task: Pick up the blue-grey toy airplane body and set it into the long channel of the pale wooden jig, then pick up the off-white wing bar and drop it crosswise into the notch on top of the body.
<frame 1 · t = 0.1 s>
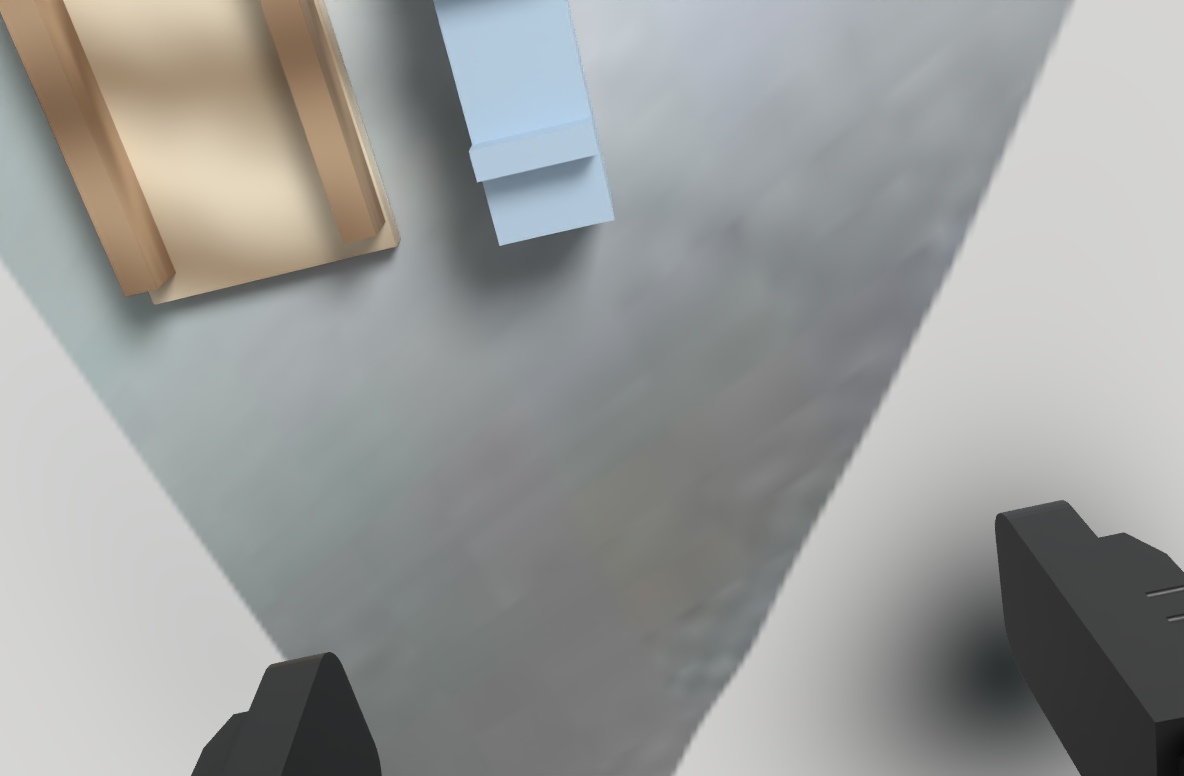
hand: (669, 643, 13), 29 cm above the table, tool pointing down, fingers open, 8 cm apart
jig: (202, 57, 38), on the table
fuselage: (518, 38, 38), on the table
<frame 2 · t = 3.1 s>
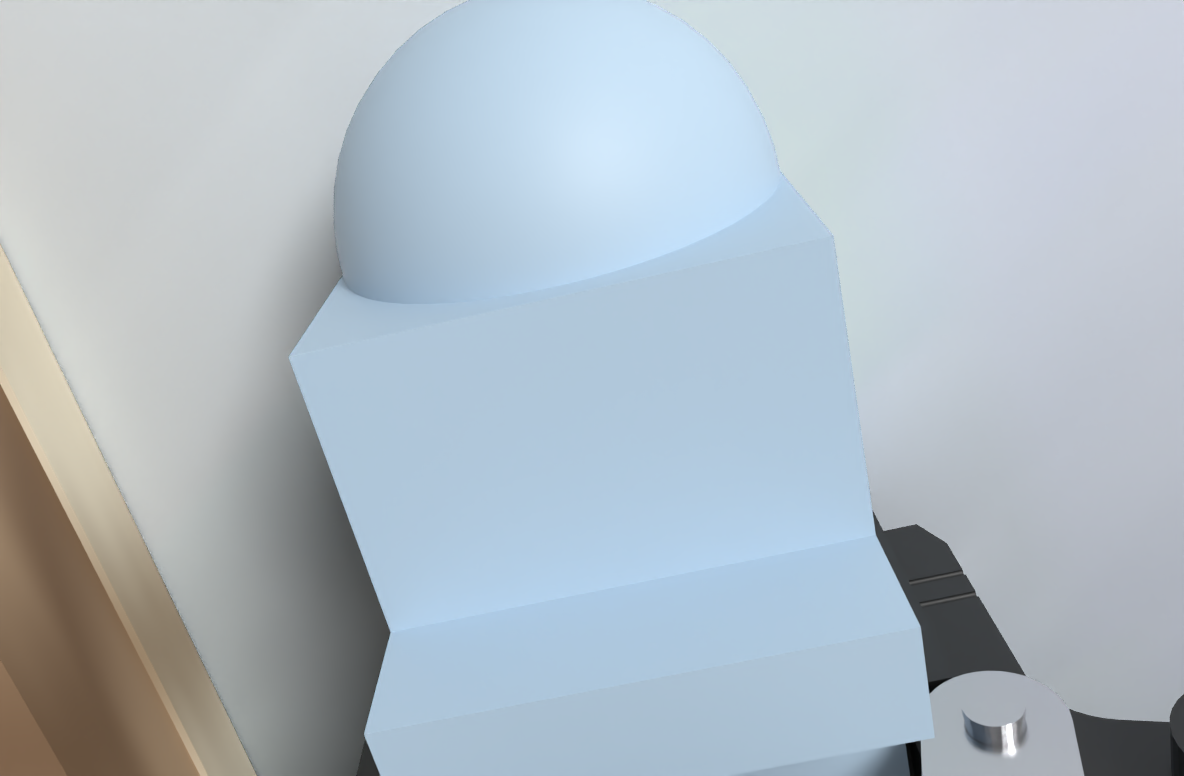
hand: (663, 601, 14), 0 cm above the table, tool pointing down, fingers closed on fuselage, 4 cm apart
fuselage: (669, 607, 14), on the table, touching gripper
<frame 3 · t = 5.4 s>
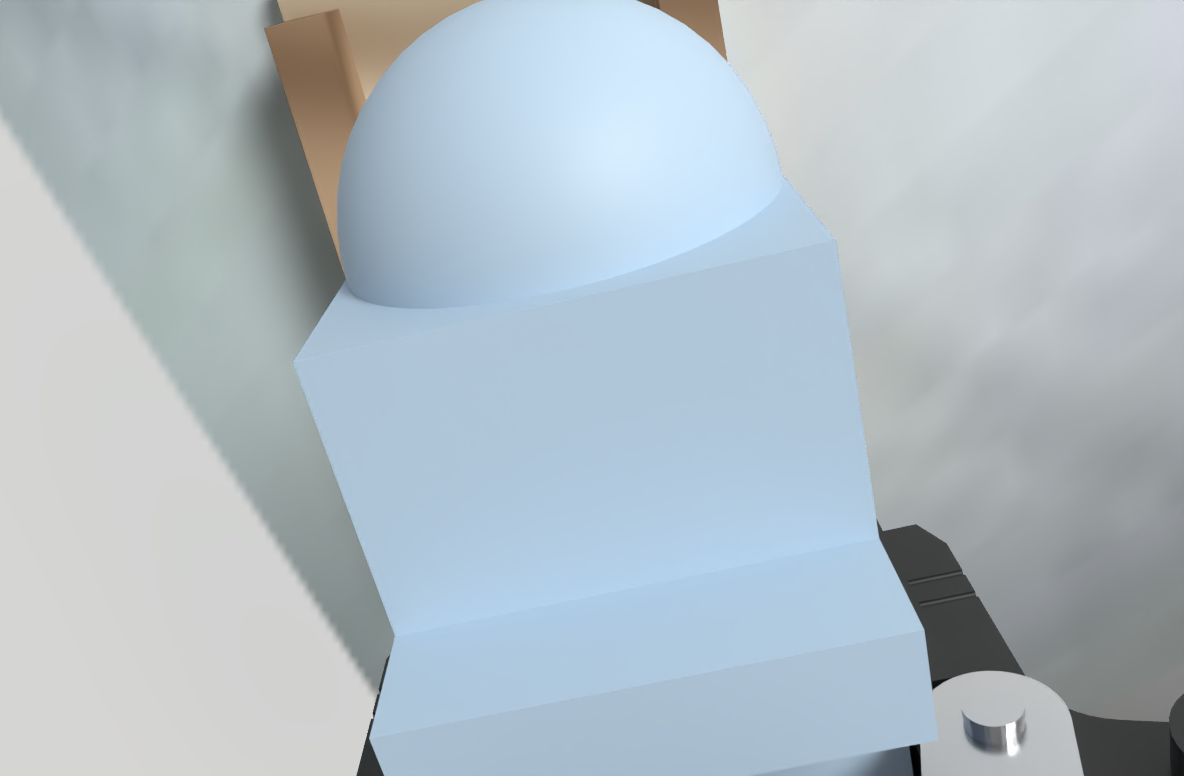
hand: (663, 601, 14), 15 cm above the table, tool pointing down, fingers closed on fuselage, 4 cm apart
jig: (559, 255, 28), on the table
fuselage: (671, 609, 14), point 15 cm above the table, touching gripper
when the fingers open (3 cm above the table, at t = 8.2 s): fuselage drops 2 cm, resting on jig.
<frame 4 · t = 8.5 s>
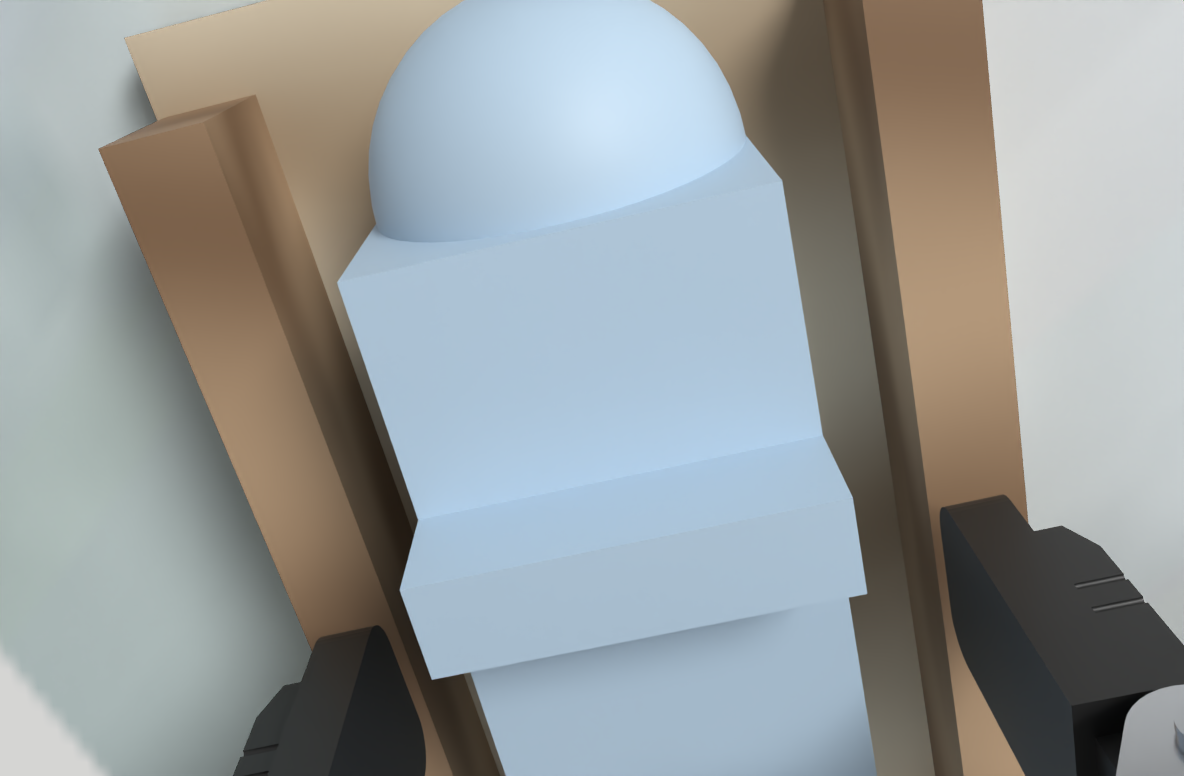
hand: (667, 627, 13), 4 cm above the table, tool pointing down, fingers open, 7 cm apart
jig: (648, 480, 17), on the table
fuselage: (657, 536, 16), point 1 cm above the table, touching jig
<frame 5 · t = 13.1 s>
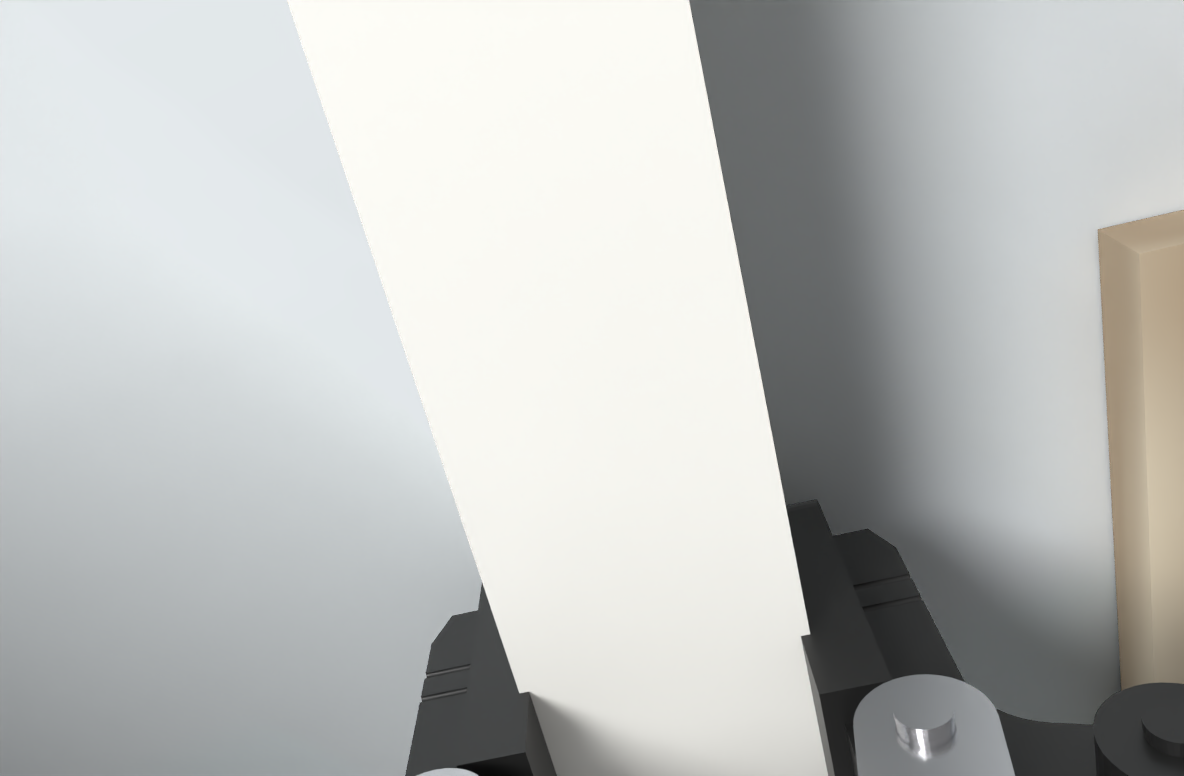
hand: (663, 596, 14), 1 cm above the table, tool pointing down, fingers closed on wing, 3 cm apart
wing: (587, 271, 13), on the table, touching gripper
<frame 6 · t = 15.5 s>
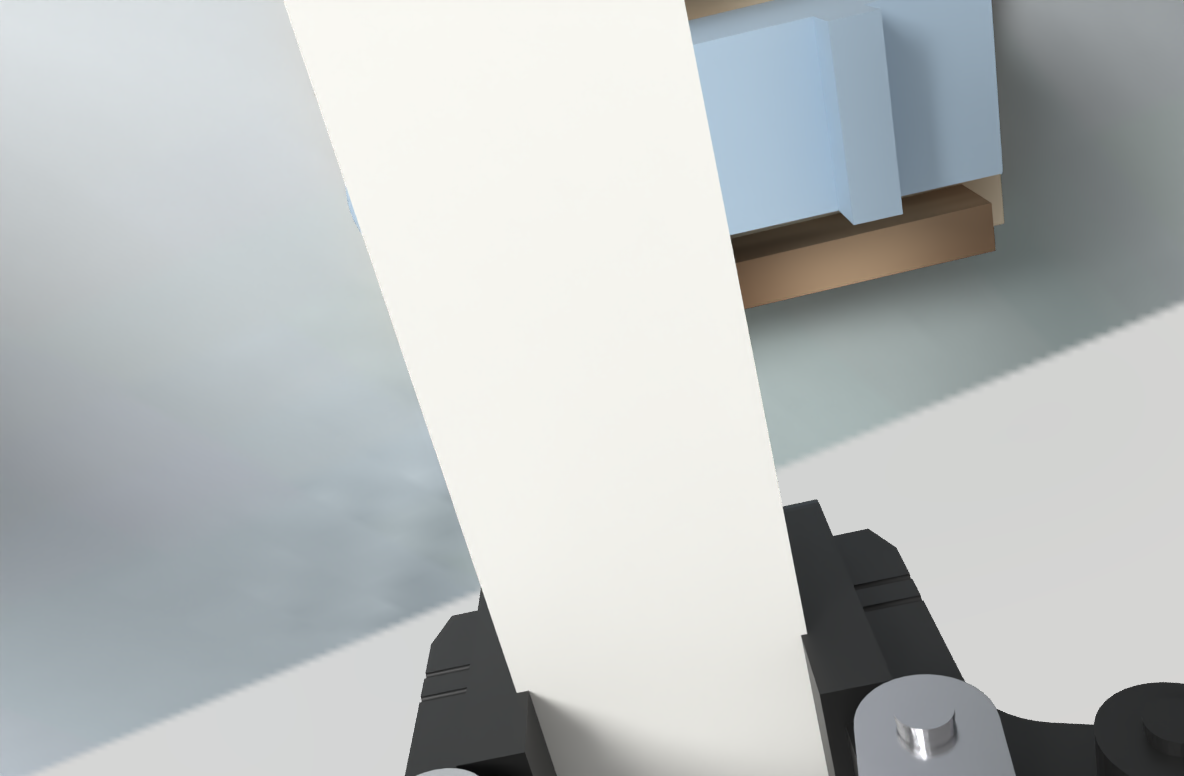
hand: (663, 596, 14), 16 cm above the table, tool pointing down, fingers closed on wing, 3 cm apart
jig: (660, 107, 27), on the table
fuselage: (681, 109, 26), point 1 cm above the table, touching jig
wing: (586, 279, 13), point 15 cm above the table, touching gripper
when the fingers open (7 cm above the table, at t = 18.0 s): wing stays where it is, resting on fuselage.
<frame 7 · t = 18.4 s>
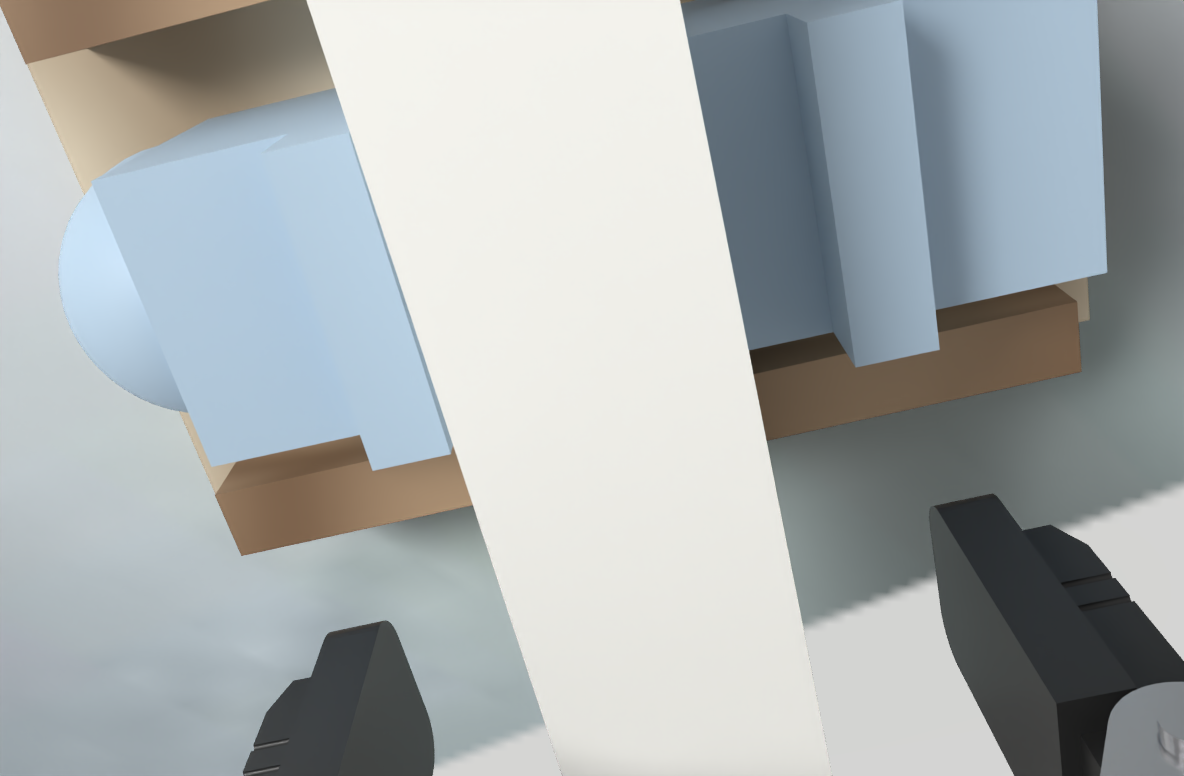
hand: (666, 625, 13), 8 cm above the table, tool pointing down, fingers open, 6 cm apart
jig: (578, 149, 18), on the table
fuselage: (602, 155, 17), point 1 cm above the table, touching jig, wing
wing: (589, 270, 13), point 5 cm above the table, touching fuselage
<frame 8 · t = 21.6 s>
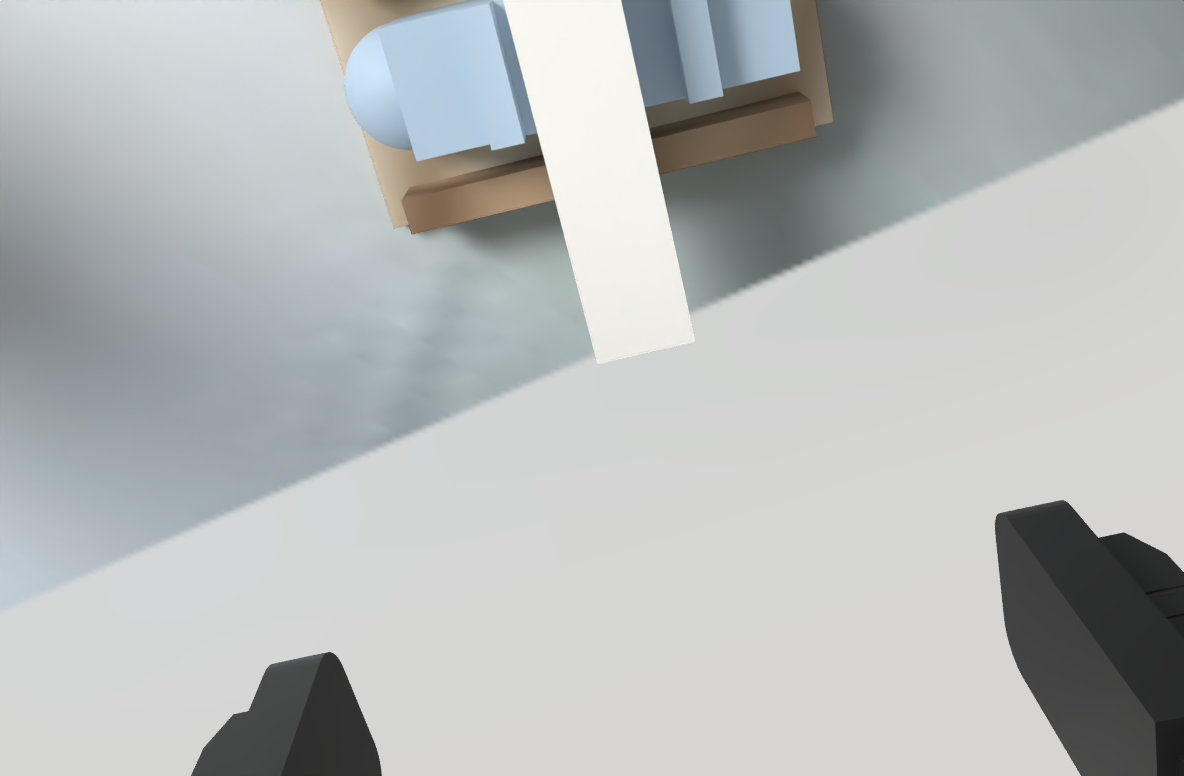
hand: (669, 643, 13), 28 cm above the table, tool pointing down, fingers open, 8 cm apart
jig: (577, 35, 37), on the table
fuselage: (589, 35, 36), point 1 cm above the table, touching jig, wing
wing: (581, 69, 32), point 5 cm above the table, touching fuselage
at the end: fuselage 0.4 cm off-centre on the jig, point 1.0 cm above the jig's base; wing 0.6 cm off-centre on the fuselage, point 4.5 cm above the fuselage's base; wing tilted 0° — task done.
